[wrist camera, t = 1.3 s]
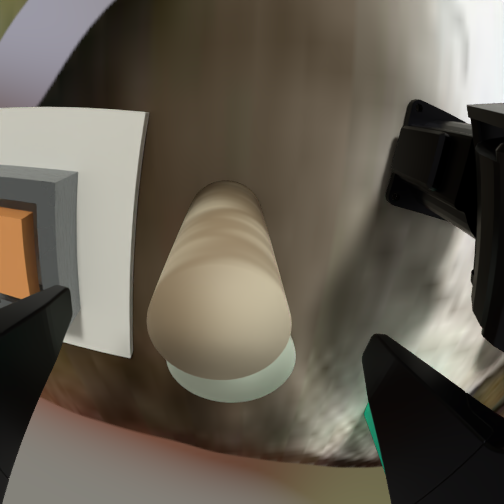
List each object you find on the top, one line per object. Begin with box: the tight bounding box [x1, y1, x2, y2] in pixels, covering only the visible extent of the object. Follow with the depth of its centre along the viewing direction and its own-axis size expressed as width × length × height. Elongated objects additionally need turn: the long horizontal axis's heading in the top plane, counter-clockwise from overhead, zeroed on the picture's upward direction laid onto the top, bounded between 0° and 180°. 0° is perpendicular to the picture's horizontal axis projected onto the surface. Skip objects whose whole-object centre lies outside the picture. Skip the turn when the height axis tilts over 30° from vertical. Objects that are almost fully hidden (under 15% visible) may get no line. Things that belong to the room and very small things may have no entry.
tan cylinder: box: [147, 181, 292, 380], centre depth 13 cm, size 4×4×10 cm
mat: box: [166, 335, 296, 403], centre depth 22 cm, size 9×9×1 cm
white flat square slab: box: [0, 107, 149, 358], centre depth 16 cm, size 16×16×3 cm
